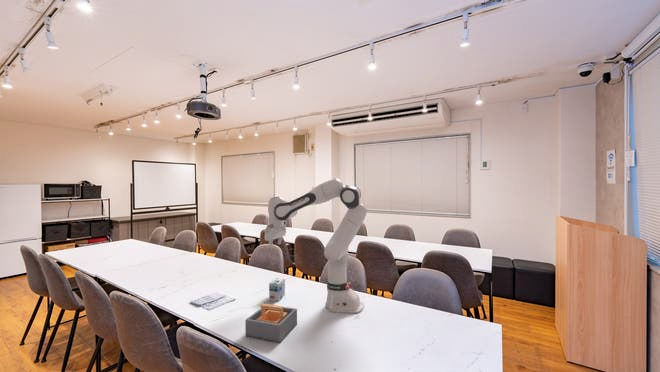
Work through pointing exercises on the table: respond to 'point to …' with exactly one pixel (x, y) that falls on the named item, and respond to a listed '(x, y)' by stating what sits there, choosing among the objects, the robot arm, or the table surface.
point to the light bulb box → (276, 289)
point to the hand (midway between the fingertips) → (275, 245)
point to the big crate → (271, 326)
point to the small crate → (272, 313)
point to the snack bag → (206, 300)
